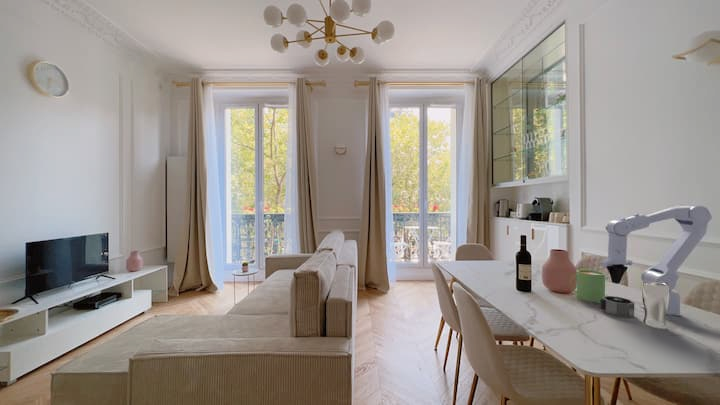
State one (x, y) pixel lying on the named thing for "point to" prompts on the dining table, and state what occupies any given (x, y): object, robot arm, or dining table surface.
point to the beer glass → (655, 304)
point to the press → (617, 307)
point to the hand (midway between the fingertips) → (615, 283)
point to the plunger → (617, 300)
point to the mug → (590, 285)
